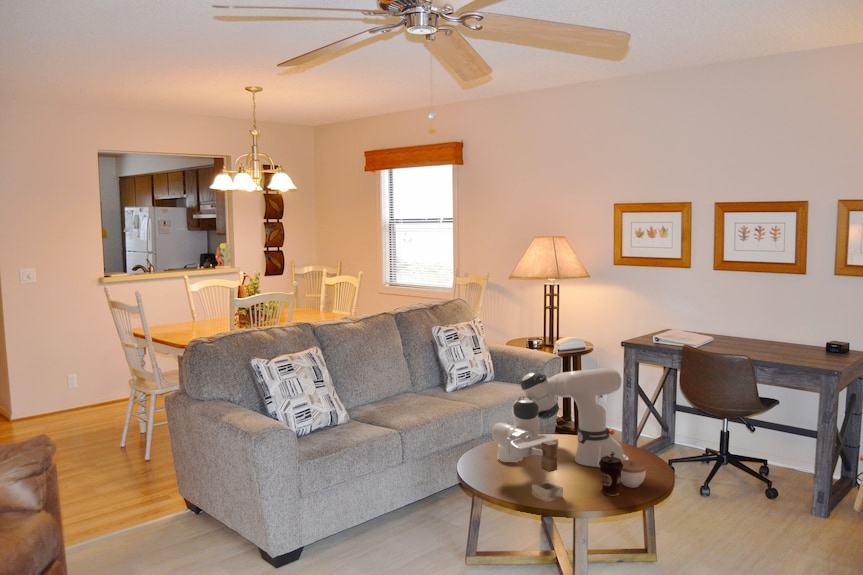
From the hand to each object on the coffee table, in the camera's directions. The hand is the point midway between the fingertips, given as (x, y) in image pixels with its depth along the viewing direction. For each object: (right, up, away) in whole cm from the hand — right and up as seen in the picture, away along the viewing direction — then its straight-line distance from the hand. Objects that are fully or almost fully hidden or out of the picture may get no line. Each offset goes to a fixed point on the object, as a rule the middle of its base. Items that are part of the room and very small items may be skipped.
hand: (549, 451), depth 248 cm
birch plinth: (0, -17, +2) cm, 17 cm away
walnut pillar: (0, -7, 0) cm, 7 cm away
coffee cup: (+23, -17, +4) cm, 29 cm away
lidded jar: (+33, -16, +12) cm, 39 cm away
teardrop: (-9, -13, +42) cm, 45 cm away
